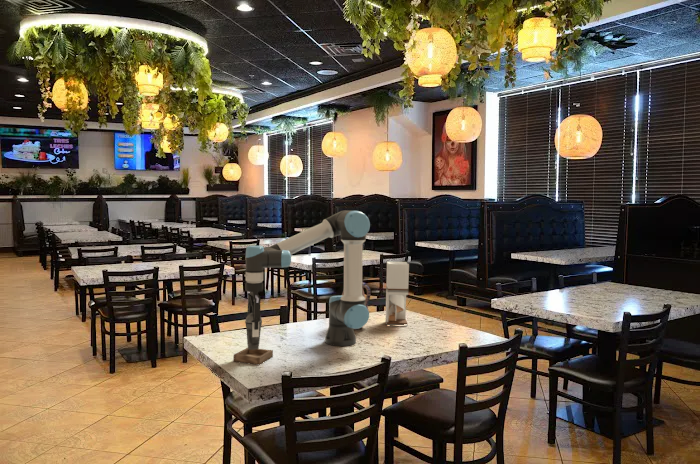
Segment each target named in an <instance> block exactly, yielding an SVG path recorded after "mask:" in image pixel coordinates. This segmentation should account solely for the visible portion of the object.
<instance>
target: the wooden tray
mask: <svg viewBox="0 0 700 464" xmlns="http://www.w3.org/2000/svg"><path fill="white" fill-rule="evenodd" d="M273 354H274V350H273V349H265V348H259V349H256V350H249V349H248V347H246V348H244V349H242V350H240V351H239V352H238V351H237V352H236V353H233V361H232V362H234V363H239V362H240V363H241V364H248V363H250V364H249V365H256V364H259V365H258V366H260V364H261V365H262V364H264V363H266V362H267V361H268V360H270V359H272V358H274V355H273ZM265 361H266V362H265ZM263 362H264V363H263Z"/></svg>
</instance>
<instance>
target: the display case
mask: <svg viewBox="0 0 700 464" xmlns="http://www.w3.org/2000/svg"><path fill="white" fill-rule="evenodd" d="M409 271H410V264H409V263H408V262H407V261H386V281H385V282H386V285H385V286H386V288H385V291H386V292H385V324H387V325H404V324H407V325H408V321H407V319H406V318H407V317H406V314H407V313H406V312H407V309H406V308H407V296H409V283H410V282H409V279H410V277H409V276H410V275H409V273H410V272H409ZM387 325H386V326H387Z"/></svg>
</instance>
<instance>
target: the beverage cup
mask: <svg viewBox="0 0 700 464" xmlns="http://www.w3.org/2000/svg"><path fill="white" fill-rule="evenodd" d="M260 318H261V321H259V337H252V321H253V313H250V314H249V315H247V316H246V317H245V321H244V324H245V328H246V343H247V348H248V349H249V350H256V349H260V348H259V347H260V339H261V331H262V330H261V329H262V325H263V324H262V323H263V319H262V316H261V315H260ZM256 319H257V318H256Z"/></svg>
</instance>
